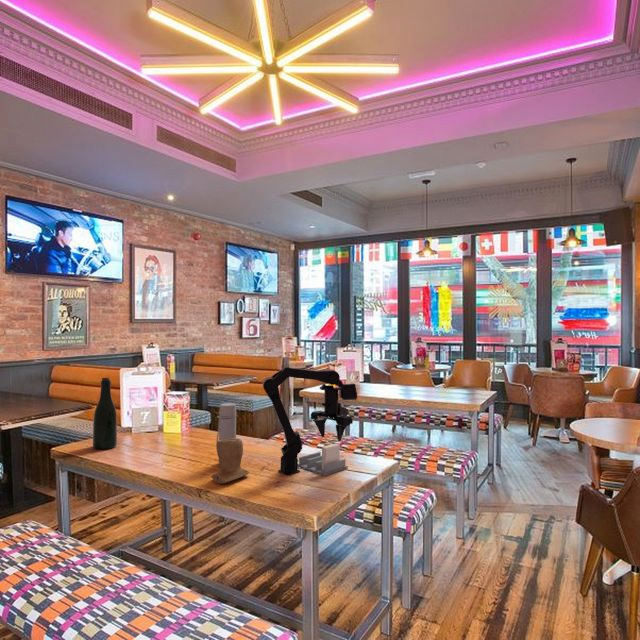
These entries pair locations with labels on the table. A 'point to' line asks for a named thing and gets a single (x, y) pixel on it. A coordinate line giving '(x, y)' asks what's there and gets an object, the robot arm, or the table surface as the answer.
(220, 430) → the water bottle
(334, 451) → the beige upright tile
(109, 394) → the dark wine bottle
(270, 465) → the table surface
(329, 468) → the dish rack
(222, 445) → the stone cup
